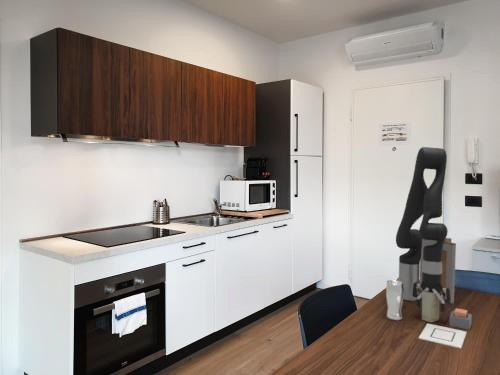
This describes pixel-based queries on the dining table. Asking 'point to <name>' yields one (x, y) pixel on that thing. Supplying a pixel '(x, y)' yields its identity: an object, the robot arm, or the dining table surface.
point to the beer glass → (394, 299)
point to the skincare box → (430, 306)
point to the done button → (460, 313)
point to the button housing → (460, 321)
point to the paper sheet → (443, 335)
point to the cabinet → (444, 265)
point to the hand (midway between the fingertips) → (430, 309)
